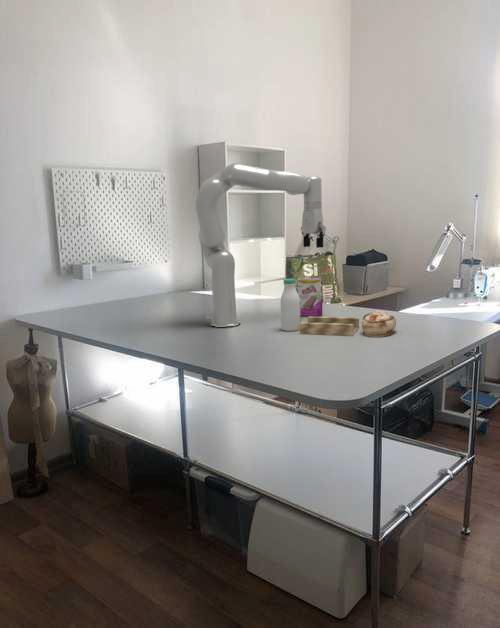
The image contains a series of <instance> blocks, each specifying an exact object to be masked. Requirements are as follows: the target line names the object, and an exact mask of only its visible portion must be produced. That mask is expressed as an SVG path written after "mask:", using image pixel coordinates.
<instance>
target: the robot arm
mask: <svg viewBox="0 0 500 628" xmlns="http://www.w3.org/2000/svg"><path fill="white" fill-rule="evenodd" d="M234 186H241V187H246V188H252V189H256V190H263V191H282V192H283V191H284V192H285V193H287V194H288V195H291V196H296V195H297V196H298V195H303V211H302V216H301V217H302V218H301V219H302V220H301V227H300V230H301V234H302V239H303V240H302V241H303V248H311V237H310V236H311V234H313V235H314V234H315V236H316V239H315V240H316V241H315V242H316V243H315V244H316V248H319V249H320V248H324V238H325V234H326V230H327V227H326V226H325V225H324V216H323V215H324V214H323V210H322V209H323V208H322V204H323V203H322V178H321V177H320V176H317V175H316V176H305V175H303V174H298V173H293V172H290V171H289V172H288V171H281V170H275V169H271V168H263V167H257V166H254V165H253V166H252V165H248V164H244V163H239V162H235V163H231V164H228V165H227V166H225V167H224V168H222V169H221V170H220V171H218V172H216V173H215V174H214V175H212V176H210V177H209V178H207V179H206V180H204V181H203V182H202V183H201V185H200V186H199V192H198V194H197V197H196V202H195V211H196V212H195V213H196V216H197V220H198V223H199V227H200V230H199V233H198V239H199V240H198V241H199V243H200V247H201V250H202V252H203V256H204V259H205V261H206V265H208V267H209V268H210V269H211V291H212V293H211V294H212V307H213V308H212V310H213V314H206V315H205V320H206V321H211V322H210V323H211V324H212V325H214V324H215V325H216V326H231V325H236V324H239V323H240V324H241V321H240V320H239V319H237V305H236V303H237V302H236V301H237V300H236V285H235V284H236V283H235V274H236V271H235V270H236V269H235V268H236V262H235V258H234V256H233V254H232V253H231V252H230V251H229V250H227V249H226V248H225V245H224V243H225V240H226V234H225V230H224V228H223V224H222V222H221V218H220V215H219V212H218V211H219V209H218V203H219V200H220V199H221V198H222V196H223V195H224V194H225V193H226V192H228V191H229V190H231V189H232V188H233V187H234ZM211 324H210V325H211Z"/></svg>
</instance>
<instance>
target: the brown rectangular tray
mask: <svg viewBox="0 0 500 628" xmlns="http://www.w3.org/2000/svg"><path fill="white" fill-rule="evenodd" d="M299 328H300V330H299V334H300V335H320V336H321V335H322V336H326V335H327V336H347V337H348V336H349V337H350V336H351V337H353V336H354V335H355V334H356V332H357V331H358V330H359V329H360V317H351V316H350V317H343V316H342V317H341V316H307V322H303V321H301V323H299Z"/></svg>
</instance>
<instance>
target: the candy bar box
mask: <svg viewBox="0 0 500 628" xmlns="http://www.w3.org/2000/svg"><path fill="white" fill-rule="evenodd" d="M296 291H297V293H298V295H299V299H300V315H301V317H309V316H312V317H323V279H322V278H297V279H296Z"/></svg>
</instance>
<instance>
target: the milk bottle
mask: <svg viewBox="0 0 500 628" xmlns="http://www.w3.org/2000/svg"><path fill="white" fill-rule="evenodd" d="M283 286H284V287H283V292H282V294H281V297H280V327H281V330H282V331H284V330H285V332H296V331H300V328H299V323H301V322H302V321H301V319H302V318H301V317H302V316H301V315H300V299H299V295H298V293H297V287H296V279H295V278H284V279H283Z"/></svg>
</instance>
